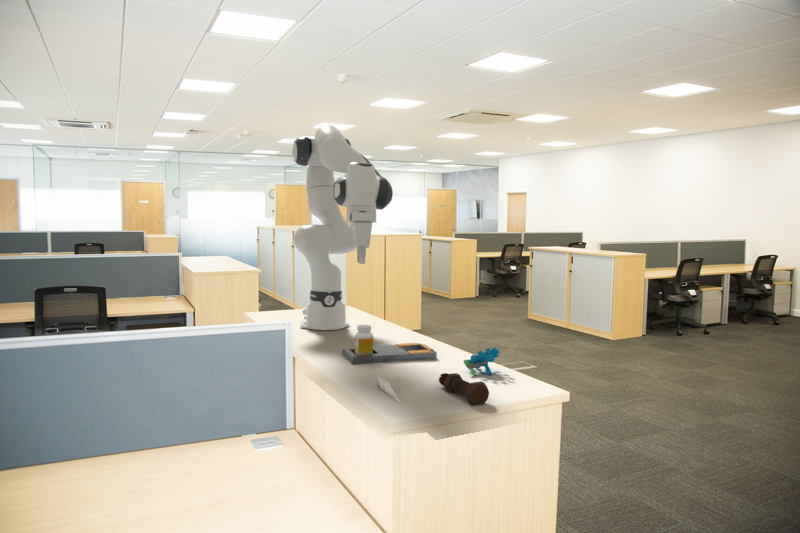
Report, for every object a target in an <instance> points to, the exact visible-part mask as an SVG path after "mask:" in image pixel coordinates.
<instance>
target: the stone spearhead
mask: <svg viewBox="0 0 800 533" xmlns="http://www.w3.org/2000/svg"><path fill="white" fill-rule="evenodd" d="M377 381H378V382H377V383H378V387H379V388H380V390H381V391H383V392H385V393H386V394H387V395H388V396H389V395H390V398H392V399H393V400H395V401H396V402H398V403H400V400H399V397H398V395H397V394H396V393H395V391H394V389H393V388H392V383H390V382H388V381H386V380H384V379H383V378H381V377H377Z"/></svg>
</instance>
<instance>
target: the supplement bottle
mask: <svg viewBox="0 0 800 533" xmlns="http://www.w3.org/2000/svg"><path fill="white" fill-rule="evenodd" d="M356 330H357V331H358V332H355V334H354V347H355V355H363V354H373V346H374V334H373V333H372V332H371V330H372V325H370V324H359V325H357V329H356Z"/></svg>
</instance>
